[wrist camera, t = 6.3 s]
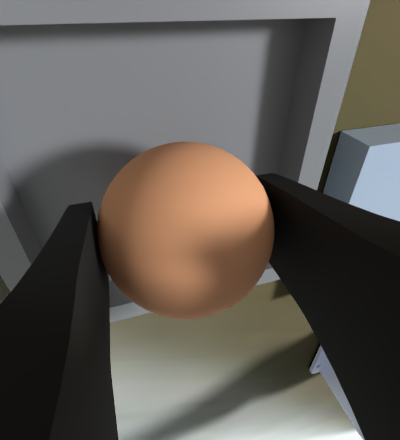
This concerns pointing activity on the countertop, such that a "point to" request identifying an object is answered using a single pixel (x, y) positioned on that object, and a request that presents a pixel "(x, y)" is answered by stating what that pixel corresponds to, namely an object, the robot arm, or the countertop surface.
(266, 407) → the countertop surface
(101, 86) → the tray
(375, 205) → the dish
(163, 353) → the countertop surface
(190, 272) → the ball
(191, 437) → the countertop surface
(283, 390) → the countertop surface
